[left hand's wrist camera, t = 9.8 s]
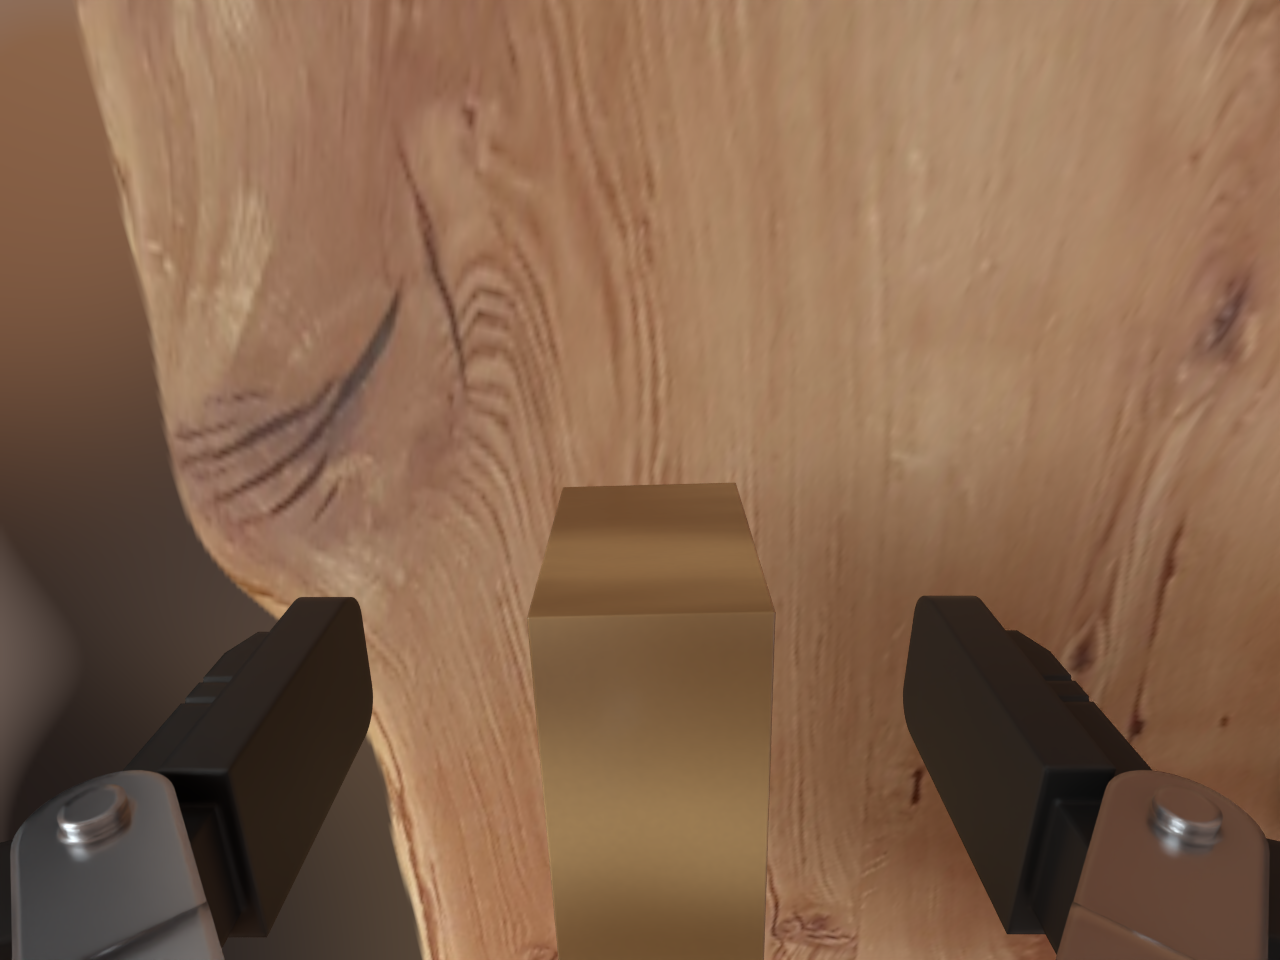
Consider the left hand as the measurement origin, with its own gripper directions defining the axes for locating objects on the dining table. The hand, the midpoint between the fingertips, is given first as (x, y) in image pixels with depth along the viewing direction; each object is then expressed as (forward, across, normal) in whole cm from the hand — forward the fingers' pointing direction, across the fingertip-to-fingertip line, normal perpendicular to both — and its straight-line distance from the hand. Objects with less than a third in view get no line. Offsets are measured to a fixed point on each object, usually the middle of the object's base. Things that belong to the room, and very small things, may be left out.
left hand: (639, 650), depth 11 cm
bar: (+15, +1, -14) cm, 21 cm away
